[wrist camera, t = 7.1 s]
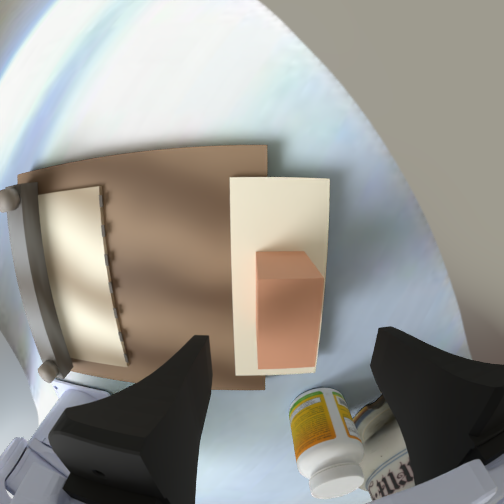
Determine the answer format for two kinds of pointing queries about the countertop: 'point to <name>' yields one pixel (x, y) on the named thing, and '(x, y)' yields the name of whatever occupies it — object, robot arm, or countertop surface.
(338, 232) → the countertop surface
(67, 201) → the ticket board
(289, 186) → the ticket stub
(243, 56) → the countertop surface
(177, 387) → the robot arm
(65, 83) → the countertop surface
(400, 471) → the apothecary jar
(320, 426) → the supplement bottle
